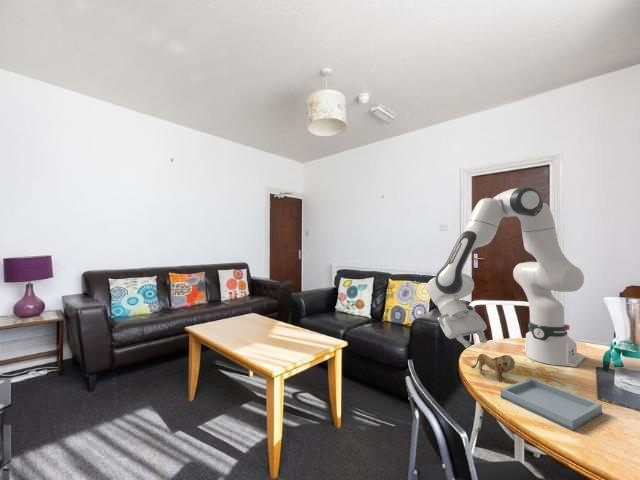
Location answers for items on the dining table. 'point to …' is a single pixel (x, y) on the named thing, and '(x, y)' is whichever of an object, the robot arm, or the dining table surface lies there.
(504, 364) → the lion figurine
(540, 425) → the dining table surface
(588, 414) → the grey tray
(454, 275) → the robot arm
